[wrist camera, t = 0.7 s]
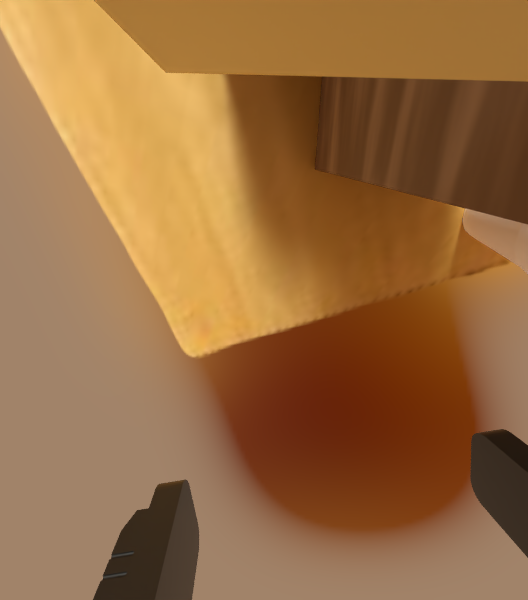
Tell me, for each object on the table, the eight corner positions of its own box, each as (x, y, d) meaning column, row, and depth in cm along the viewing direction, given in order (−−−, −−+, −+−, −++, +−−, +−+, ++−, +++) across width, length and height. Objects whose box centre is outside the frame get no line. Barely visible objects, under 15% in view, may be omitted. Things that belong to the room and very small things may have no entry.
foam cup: (461, 176, 38) (557, 187, 26) (532, 173, 38) (659, 183, 27) (444, 250, 42) (520, 288, 30) (508, 246, 42) (609, 283, 31)
